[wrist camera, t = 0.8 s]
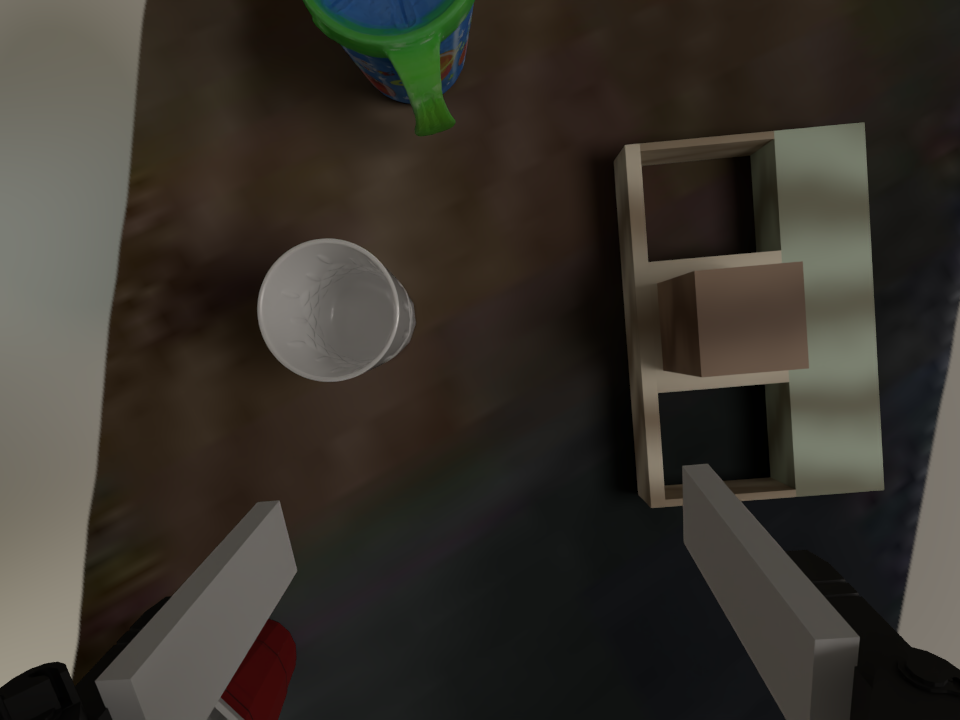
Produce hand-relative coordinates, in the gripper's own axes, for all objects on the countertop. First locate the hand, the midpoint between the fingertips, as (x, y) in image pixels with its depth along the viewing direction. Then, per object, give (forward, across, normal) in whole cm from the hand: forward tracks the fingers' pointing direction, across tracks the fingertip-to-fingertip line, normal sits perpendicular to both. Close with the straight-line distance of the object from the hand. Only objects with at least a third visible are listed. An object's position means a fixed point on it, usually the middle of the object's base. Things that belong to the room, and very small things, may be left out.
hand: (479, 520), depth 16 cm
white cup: (+22, +9, -4) cm, 24 cm away
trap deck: (+23, -18, 0) cm, 29 cm away
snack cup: (+26, +3, -22) cm, 35 cm away
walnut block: (+20, -15, -1) cm, 24 cm away
